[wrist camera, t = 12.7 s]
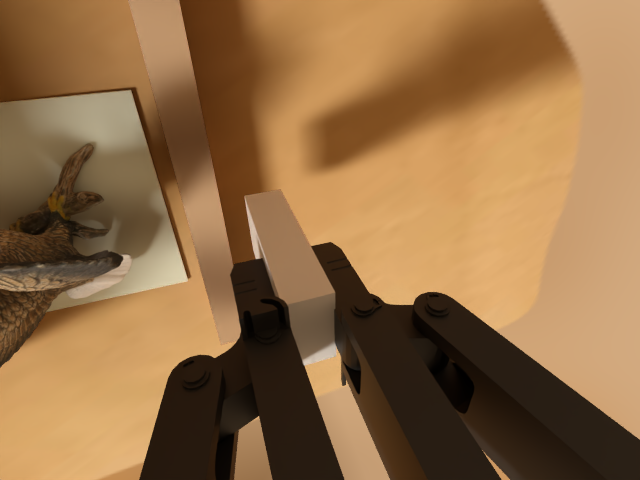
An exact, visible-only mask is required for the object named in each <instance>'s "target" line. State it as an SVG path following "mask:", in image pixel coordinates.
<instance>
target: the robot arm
mask: <svg viewBox="0 0 640 480" xmlns="http://www.w3.org/2000/svg"><path fill="white" fill-rule="evenodd" d="M244 197H245V203H246V209H247V215H248V221H249V227H250V233H251V239H252V245H253V251H254V254H255V257H256V259H255V260H251V261H246V262H241V263H237V264H234V266H233V268H232V271H231V273H230V277H231V282H232V287H233V292H234V296H235V301H236V306H237V311H238V316H239V323H240V327H241V333H240V337H239V339H238V340H237V342H236V343H235V344H234V346H233V347H232V348H231V349H229V350H228V351H226V352H225V353H223V354H221V355H220V356H218V357H216V358H213V357H211V356H209V355H197V356H193V357H189V358H187V359H186V360H184V361H182V362H180V363H179V364H178V365H177V366H176V367H175V368H174V369H173V370H172V372H171V374H170V376H169V378H168V381H167V384H166V388H165V391H164V395H163V398H162V402H161V405H160V409H159V412H158V416H157V419H156V423H155V426H154V430H153V433H152V437H151V440H150V444H149V447H148V451H147V454H146V458H145V461H144V465H143V469H142V472H141V476H140V479H139V480H234V473H235V462H236V452H237V442H238V432H239V429H241V428H242V427H243V426H245V425H246V424H248V423H249V422H251V421H252V420H253V419H255V418H256V417H258V416H259V417H260V422H261V427H262V432H263V436H264V441H265V446H266V451H267V455H268V460H269V465H270V470H271V474H272V479H273V480H344V477H343V474H342V471H341V469H340V466H339V463H338V460H337V457H336V454H335V452H334V449H333V446H332V443H331V440H330V437H329V435H328V432H327V429H326V426H325V423H324V421H323V418H322V415H321V412H320V409H319V406H318V403H317V401H316V398H315V395H314V392H313V389H312V386H311V384H310V381H309V378H308V375H307V372H306V369H305V367H304V366H305V365H308V364H311V363H315V362H318V361H322V360H325V359H329V358H332V357H335V356H336V346H337V349H338V351H339V353H340V355H341V380H342V386H344V385H346V380H347V382H348V384H349V387H350V388H351V391H352V394H353V396H354V398H355V400H356V403H357V405H358V407H359V409H360V412H361V414H362V416H363V419H364V421H365V423H366V425H367V428H368V430H369V432H370V434H371V437H372V439H373V441H374V444H375V446H376V448H377V450H378V453H379V455H380V457H381V460H382V462H383V464H384V466H385V468H386V471H387V473H388V475H389V478H390V480H501V478H500V477H499V475H498V474H497V472H496V471H495V469H494V468H493V466H492V465H491V463H490V462H489V460H488V459H487V457H486V455H487V456H488V457H489V458H490V459H491V460H492V461H493V462H494V463H495V464H496V465H497V466H498V467H499V468H500V469H501V470H502V471H503V472H504V473H505V474H506V475H507V476H508V478H509V479H510V480H640V440H639V439H638V438H637V437H635V436H634V435H632V434H631V433H630V432H629V431H627V430H626V429H625V428H623V427H622V426H621V425H619V424H618V423H617V422H615V421H614V420H613V419H611V418H610V417H608V416H607V415H606V414H605V413H604V412H602V411H601V410H600V409H598V408H597V407H596V406H594V405H593V404H592V403H590V402H589V401H588V400H586V399H585V398H584V397H582V396H581V395H580V394H578V393H577V392H576V391H574V390H573V389H572V388H570V387H569V386H568V385H566V384H565V383H564V382H563V381H561V380H560V379H559V378H557V377H556V376H555V375H553V374H552V373H551V372H549V371H548V370H547V369H545V368H544V367H543V366H541V365H540V364H539V363H537V362H536V361H535V360H533V359H532V358H531V357H529V356H528V355H527V354H525V353H524V352H523V351H522V350H520V349H519V348H517V347H516V346H515V345H514V344H512V343H511V342H510V341H508V340H507V339H506V338H504V337H503V336H502V335H500V334H499V333H498V332H496V331H495V330H494V329H492V328H491V327H490V326H488V325H487V324H486V323H485V322H483V321H482V320H481V319H479V318H478V317H477V316H475V315H474V314H473V313H471V312H470V311H469V310H467V309H466V308H465V307H463V306H462V305H461V304H459V303H458V302H457V301H455V300H454V299H453V298H451V297H449V296H447V295H445V294H442V293H438V292H427V293H424V294H421V295H419V296H418V297H417V298H416V299H415V301H414V304H413V305H390V304H386V303H384V302H383V301H382V300H381V299H380V298H379V297H377V296H375V295H373V294H370V293H369V292H368V290H367V289H366V287H365V286H364V284H363V282H362V281H361V279H360V278H359V276H358V275H357V273H356V271H355V270H354V268H353V267H352V266H351V264H350V262H349V260H348V259H347V257H346V256H345V254H344V253H343V251H342V249H341V248H339V247H338V246H336V245H334V244H333V243H331V242H329V243H324V244H320V245H315V246H310V244H309V242H308V240H307V238H306V236H305V234H304V233H303V231H302V229H301V227H300V225H299V223H298V221H297V219H296V217H295V216H294V214H293V212H292V210H291V208H290V206H289V204H288V202H287V200H286V199H285V197H284V195H283V193H282V191H281V189H279V190H274V191H268V192H262V193H257V194H251V195H245V196H244ZM482 450H483V451H484V452H485V453H486V455H485V454H484V452H483V451H482Z"/></svg>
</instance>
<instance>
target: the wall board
mask: <svg viewBox="0 0 640 480" xmlns="http://www.w3.org/2000/svg"><path fill="white" fill-rule="evenodd" d="M128 1H129V5H130V9H131V13H132V16H133V20H134V24H135V27H136V31H137V35H138V39H139V42H140V46H141V50H142V53H143V57H144V61H145V65H146V68H147V72H148V76H149V79H150V83H151V87H152V91H153V94H154V98H155V102H156V105H157V109H158V113H159V117H160V120H161V124H162V128H163V132H164V135H165V139H166V143H167V146H168V150H169V154H170V158H171V161H172V165H173V169H174V172H175V176H176V180H177V184H178V187H179V191H180V195H181V198H182V202H183V206H184V210H185V213H186V217H187V221H188V224H189V228H190V232H191V236H192V239H193V243H194V247H195V251H196V254H197V258H198V262H199V265H200V269H201V273H202V277H203V280H204V284H205V288H206V291H207V295H208V299H209V303H210V306H211V310H212V314H213V317H214V321H215V325H216V329H217V332H218V336H219V340H220V343H221V345H223V344H227V343H230V342H234V341H237V340H238V339H239V337H240V333H241V327H240V323H239V316H238V311H237V306H236V301H235V296H234V292H233V287H232V282H231V277H230V273H231V271H232V268H233V262H232V257H231V252H230V247H229V242H228V237H227V232H226V227H225V223H224V218H223V213H222V208H221V203H220V198H219V193H218V188H217V183H216V178H215V174H214V169H213V164H212V159H211V154H210V149H209V144H208V139H207V134H206V129H205V125H204V120H203V115H202V110H201V105H200V100H199V95H198V90H197V85H196V81H195V76H194V71H193V66H192V61H191V56H190V51H189V46H188V41H187V36H186V32H185V27H184V22H183V17H182V12H181V7H180V2H179V0H128ZM86 144H92V145H93V147H94V149H93V153H92V155H91V156H90V158H89V159H88V160H87V161H86V162H85V163H84V164H83V166H82V168H81V170H80V172H79V175H78V177H77V180H76V182H75V185H74V188H73V192H74V193H77V192H82V191H89V192H94V193H97V194H99V195H101V196H102V198H103V199H104V201H103V202H102V203H100V204H98V205H96V206H94V207H92V208H90V209H89V210H87V211H85V212H81V213H78V214H75V215H71V216H70V217H71V218H70V220H69V221H76V222H78V223H80V224H82V225H84V226H87V227H90V228H94V229H108V230H109V232H108V233H107V234H106V235H105V236H103V237H97V238H92V239H90V240H85V239H83V238H81V237H78V236H73V247H74V248H76V250H77V251H78V252H79V253H80V254H82V255H85V256H90V255H93V254H96V253H98V252H102V251H104V250H108V251H109V252H110V251H112V252H115V253H118V254H122V253H127V254H130V255H131V257H132V264H131V267H130V270H129V272H128V273H127V274H126V276H125V277H124V279H123V280H122V281H120V282H119V283H116V284H114V285H112V286H111V287H109V288H106V289H103V290H101V291H98V292H96V293H94V294H92V295H90V296H88V297H84V298H78V299H73V298H71V297H70V296H68V295H67V293H66V292H62V293H61V294H59V295H58V296H57V298H56V299H54V300H53V301H52V303H51V306H50V308H49V309H48V310H47V311H46V312H50V311H54V310H59V309H63V308H68V307H72V306H77V305H82V304H86V303H91V302H95V301H100V300H104V299H109V298H114V297H118V296H123V295H127V294H132V293H136V292H141V291H145V290H150V289H155V288H159V287H164V286H168V285H173V284H177V283H182V282H187V281H188V278H187V275H186V271H185V268H184V265H183V261H182V258H181V255H180V251H179V248H178V245H177V241H176V238H175V234H174V231H173V228H172V224H171V221H170V218H169V214H168V211H167V208H166V204H165V201H164V198H163V194H162V191H161V188H160V184H159V181H158V178H157V174H156V171H155V168H154V164H153V161H152V158H151V154H150V151H149V148H148V144H147V141H146V138H145V134H144V131H143V127H142V124H141V121H140V117H139V114H138V111H137V107H136V104H135V101H134V97H133V94H132V91H131V89H130V90H120V91H110V92H100V93H90V94H80V95H70V96H60V97H50V98H40V99H30V100H20V101H10V102H0V229H6V230H9V226H10V225H11V224H12V223H16V222H17V220H18V218H20V217H25V216H26V215H28V214H29V213H32V212H35V211H36V210H37V209H38V208H39V207H40V206H41V205H42V204H43V203H44V202H46V201H47V199H48V197H49V196H50V194H51V193H53V190H54V188H55V186H56V185H57V184H58V181H59V176H60V173H61V171H62V168H63V166H64V165H65V163H66V161H67V160H68V158H69V157H70V156H71V155H72V154H74V153H75V152H77V151H78V150H79V149H81V148H82V147H83V146H85V145H86Z"/></svg>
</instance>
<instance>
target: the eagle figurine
mask: <svg viewBox="0 0 640 480" xmlns="http://www.w3.org/2000/svg"><path fill="white" fill-rule="evenodd" d="M93 149H94V147H93V145H92V144H86V145H85V146H83V147H82V148H81V149H79V150H78V151H77V152H75V153H74V154H72V155H71V156H70V157H69V158H68V160H67V161H66V163H65V165H64V166H63V168H62V171H61V173H60V176H59V181H58V184H57V185H56V186H55V188H54V190H53V193H51V194H50V196H49V197H48V199H47V201H46V202H44V203H43V204H42V205H41V206H40V207H39V208H38V209H37V210H36V211H35V212H32V213H29V214H28V215H26V216H25V217H20V218H18V220H17V222H16V223H12V224H11V225H10V226H9V230H6V229H0V368H1V366H2V365H3V364H4V363H5V362H7V361H9V360H10V359H11V357H12V356H13V354H14V353H15V352H17V351H18V350H19V349H20V347H21V346H22V345H23V343H24V342H25V341H26V339H28V338H29V337H30V336H31V334H32V332H33V331H34V330H35V329H36V327H37V326H38V324H39V322H40V321H41V320H42V319H43V317H44V315H45V313H46V311H47V310H48V309H49V308H50V306H51V303H52V301H53V300H54V299H56V298H57V296H58V295H59V294H61V293H62V292H66V293H67V295H68V296H70V297H71V298H73V299H78V298H84V297H88V296H90V295H92V294H94V293H96V292H98V291H101V290H103V289H106V288H109V287H111V286H112V285H114V284H116V283H119V282H120V281H122V280H123V279H124V277H125V276H126V274H127V273H128V272H129V270H130V267H131V264H132V257H131V255H130V254H127V253H122V254H118V253H115V252H112V251H110V252H109V251H108V250H104V251H102V252H98V253H96V254H93V255H90V256H85V255H82V254H80V253H79V252H78V251H77V250H76V248H74V247H73V236H78V237H81V238H83V239H85V240H90V239H92V238H97V237H103V236H105V235H106V234H107V233H108V232H109V230H108V229H94V228H90V227H87V226H84V225H82V224H80V223H78V222H76V221H69V220H70V218H71V217H70V216H71V215H75V214H78V213H81V212H85V211H87V210H89V209H90V208H92V207H94V206H96V205H98V204H100V203H102V202H103V201H104V199H103V198H102V196H101V195H99V194H97V193H94V192H89V191H82V192H77V193H74V192H73V188H74V185H75V182H76V180H77V177H78V175H79V172H80V170H81V168H82V166H83V164H84V163H85V162H86V161H87V160H88V159H89V158H90V156H91V155H92V153H93Z"/></svg>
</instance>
